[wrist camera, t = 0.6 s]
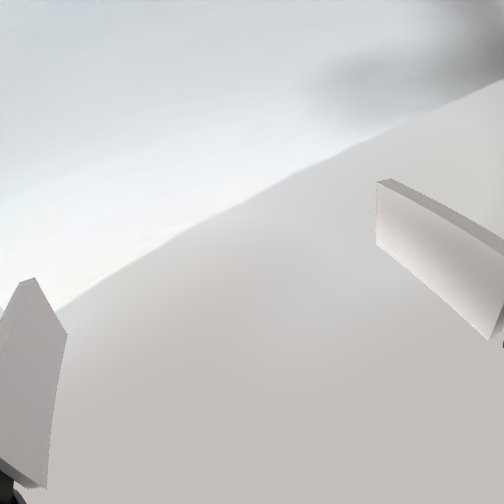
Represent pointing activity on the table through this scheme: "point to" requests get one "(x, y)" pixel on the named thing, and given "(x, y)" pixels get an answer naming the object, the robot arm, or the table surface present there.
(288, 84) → the table surface
